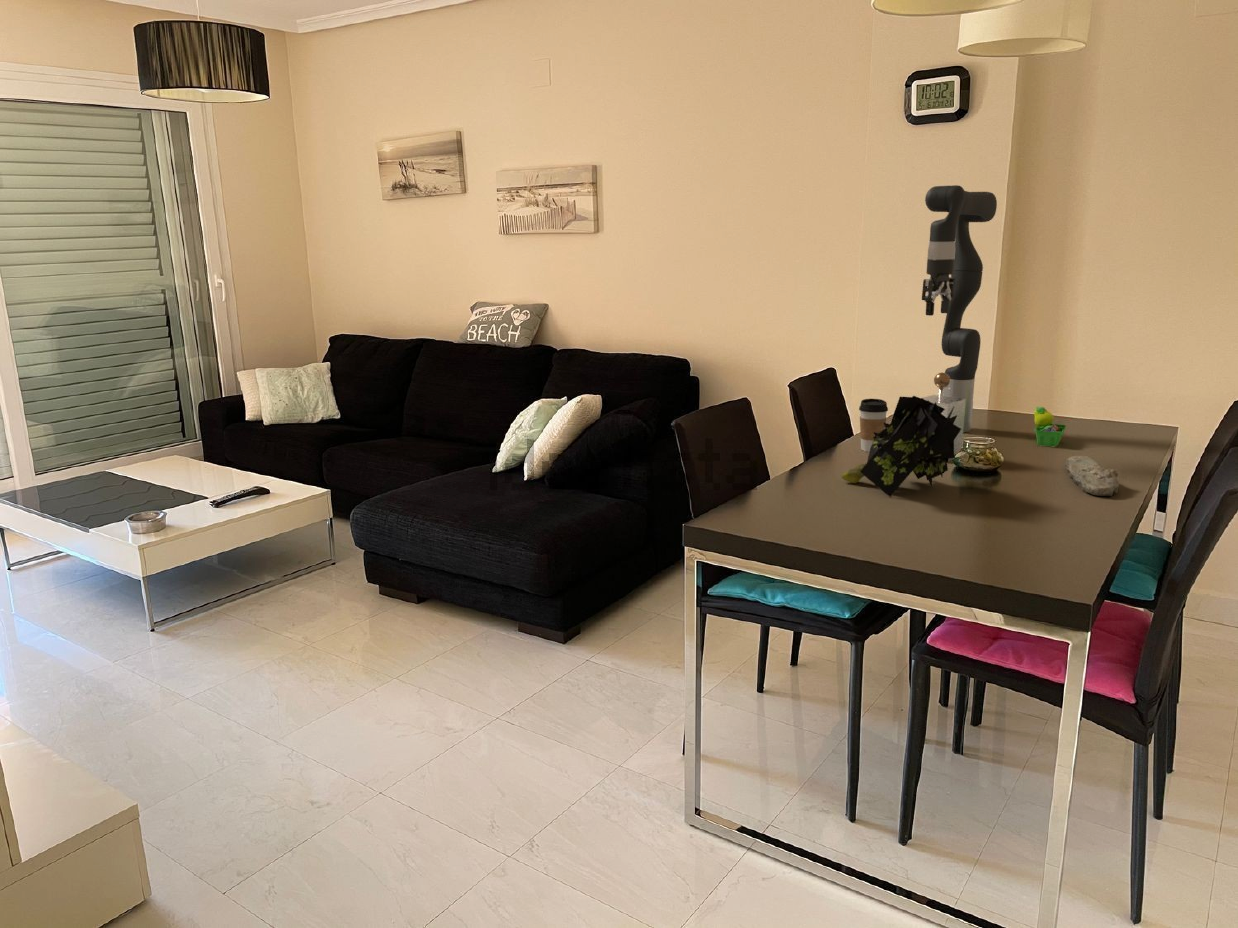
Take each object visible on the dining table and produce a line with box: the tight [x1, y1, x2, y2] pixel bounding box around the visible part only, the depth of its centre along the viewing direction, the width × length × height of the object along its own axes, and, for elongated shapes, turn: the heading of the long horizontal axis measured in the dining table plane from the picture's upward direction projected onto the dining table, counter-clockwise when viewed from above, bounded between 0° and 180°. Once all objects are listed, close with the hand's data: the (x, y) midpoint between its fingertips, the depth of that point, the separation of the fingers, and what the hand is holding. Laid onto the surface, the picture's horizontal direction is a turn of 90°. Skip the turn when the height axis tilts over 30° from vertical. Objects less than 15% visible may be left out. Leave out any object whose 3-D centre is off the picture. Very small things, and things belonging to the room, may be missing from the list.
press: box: [922, 394, 966, 462], centre depth 265 cm, size 10×10×17 cm
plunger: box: [933, 372, 950, 400], centre depth 263 cm, size 7×7×22 cm
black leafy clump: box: [841, 395, 961, 498], centre depth 233 cm, size 21×22×30 cm
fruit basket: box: [1033, 406, 1067, 448], centre depth 280 cm, size 11×9×11 cm
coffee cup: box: [858, 398, 889, 453], centre depth 274 cm, size 8×8×15 cm
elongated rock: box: [1064, 455, 1120, 497], centre depth 240 cm, size 35×5×10 cm
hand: (937, 314), depth 268 cm, fingers open, 8 cm apart
